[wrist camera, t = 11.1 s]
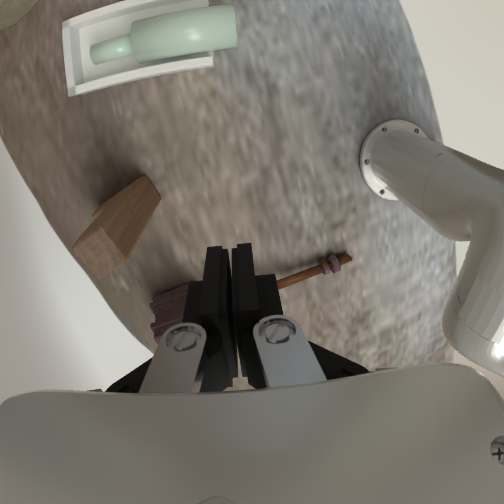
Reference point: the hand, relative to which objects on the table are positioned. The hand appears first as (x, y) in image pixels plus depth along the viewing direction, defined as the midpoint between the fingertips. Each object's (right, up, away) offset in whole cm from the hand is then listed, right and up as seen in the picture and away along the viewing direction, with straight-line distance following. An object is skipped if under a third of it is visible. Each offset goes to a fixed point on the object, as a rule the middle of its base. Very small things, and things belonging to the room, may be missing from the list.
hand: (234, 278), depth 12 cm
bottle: (-1, +28, +18) cm, 33 cm away
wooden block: (-17, +9, +32) cm, 38 cm away
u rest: (-14, +29, +21) cm, 38 cm away
